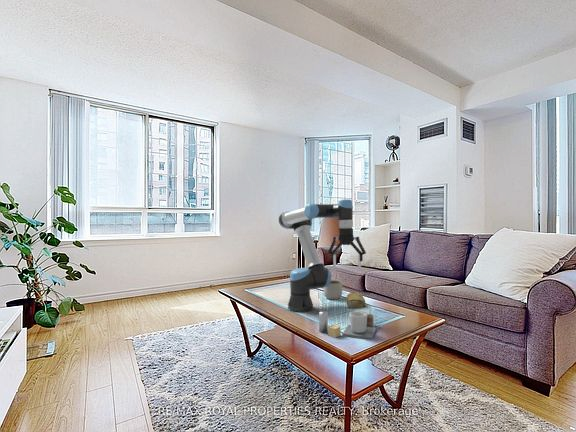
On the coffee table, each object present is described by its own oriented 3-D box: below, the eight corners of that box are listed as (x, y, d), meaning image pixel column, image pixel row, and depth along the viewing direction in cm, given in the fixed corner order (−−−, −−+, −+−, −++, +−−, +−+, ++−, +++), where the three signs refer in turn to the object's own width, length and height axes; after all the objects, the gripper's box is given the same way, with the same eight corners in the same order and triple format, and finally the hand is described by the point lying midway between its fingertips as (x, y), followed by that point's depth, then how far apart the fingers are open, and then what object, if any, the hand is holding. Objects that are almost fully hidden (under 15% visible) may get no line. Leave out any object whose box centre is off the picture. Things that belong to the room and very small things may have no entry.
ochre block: (328, 335, 136) (328, 326, 136) (333, 333, 139) (333, 324, 139) (335, 338, 133) (335, 328, 133) (340, 335, 136) (340, 326, 136)
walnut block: (361, 326, 146) (361, 316, 146) (363, 323, 151) (363, 313, 151) (372, 328, 144) (371, 317, 144) (373, 324, 149) (373, 314, 149)
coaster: (342, 335, 135) (342, 333, 135) (348, 326, 147) (348, 324, 147) (372, 339, 130) (372, 337, 130) (376, 329, 142) (375, 327, 142)
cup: (346, 326, 144) (345, 310, 144) (362, 326, 144) (361, 309, 145) (352, 335, 133) (352, 316, 133) (370, 334, 134) (369, 316, 134)
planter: (329, 295, 211) (328, 279, 212) (345, 297, 204) (345, 281, 204) (320, 299, 201) (320, 282, 202) (337, 301, 194) (336, 284, 194)
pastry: (354, 301, 193) (354, 289, 193) (370, 306, 183) (370, 292, 183) (339, 306, 184) (339, 292, 184) (355, 310, 174) (355, 296, 174)
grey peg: (318, 332, 140) (317, 312, 140) (320, 329, 144) (320, 310, 144) (326, 333, 138) (326, 313, 139) (328, 330, 142) (328, 311, 142)
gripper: (321, 228, 165) (322, 267, 165) (368, 227, 155) (369, 268, 155) (325, 228, 172) (326, 265, 172) (370, 227, 162) (371, 266, 162)
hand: (346, 267), depth 163 cm, fingers open, 13 cm apart
